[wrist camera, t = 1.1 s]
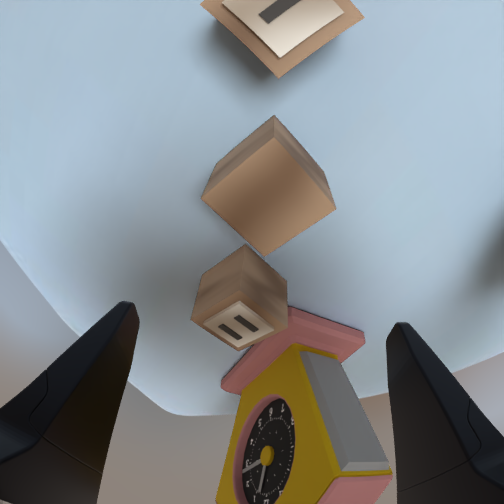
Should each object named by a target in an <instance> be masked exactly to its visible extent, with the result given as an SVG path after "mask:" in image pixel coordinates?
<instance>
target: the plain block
mask: <svg viewBox="0 0 504 504" xmlns="http://www.w3.org/2000/svg"><path fill="white" fill-rule="evenodd" d="M201 199H202V200H203V201H204V202H205V203H206V204H207V205H208V206H209V207H210V208H212V209H213V210H214V211H215V212H216V213H217V214H218V215H219V216H220V217H221V218H223V219H224V220H225V221H226V222H227V223H228V224H229V225H230V226H231V227H232V228H233V229H235V230H236V231H237V232H238V233H239V234H240V235H241V236H242V237H243V238H244V239H245V240H247V241H248V242H249V243H250V244H251V245H252V246H253V247H254V248H255V249H256V250H257V251H259V252H260V253H261V254H262V255H263V256H264V257H265V256H266V255H268V254H269V253H271V252H272V251H274V250H275V249H277V248H278V247H280V246H281V245H283V244H285V243H286V242H288V241H289V240H291V239H292V238H294V237H295V236H297V235H298V234H300V233H301V232H303V231H304V230H306V229H307V228H309V227H310V226H312V225H313V224H315V223H316V222H318V221H319V220H321V219H322V218H324V217H325V216H327V215H328V214H330V213H331V212H333V211H334V210H336V206H335V203H334V200H333V197H332V194H331V191H330V188H329V185H328V182H327V179H326V176H325V174H324V171H323V170H322V169H321V168H320V167H319V165H318V164H317V163H316V162H315V161H314V159H313V158H312V157H311V156H310V155H309V153H308V152H307V151H306V150H305V149H304V148H303V146H302V145H301V144H300V143H299V142H298V141H297V140H296V138H295V137H294V136H293V135H292V134H291V133H290V132H289V131H288V129H287V128H286V127H285V126H284V125H283V124H282V123H281V122H280V121H279V120H278V118H277V117H276V116H275V115H273V116H272V117H271V118H270V119H268V120H267V121H266V122H265V123H264V124H262V125H261V126H260V127H259V128H257V129H256V130H255V131H254V132H253V133H251V134H250V135H249V136H248V137H247V138H245V139H244V140H243V141H242V142H241V143H240V144H238V145H237V146H236V147H235V148H234V149H233V150H231V151H230V152H229V153H228V154H227V155H226V156H225V157H223V158H222V159H221V160H220V161H219V162H218V163H217V164H216V166H215V168H214V170H213V172H212V174H211V177H210V179H209V181H208V183H207V186H206V188H205V190H204V192H203V195H202V197H201Z"/></svg>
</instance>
